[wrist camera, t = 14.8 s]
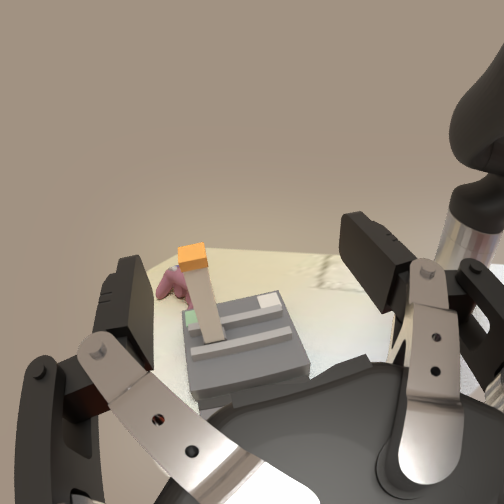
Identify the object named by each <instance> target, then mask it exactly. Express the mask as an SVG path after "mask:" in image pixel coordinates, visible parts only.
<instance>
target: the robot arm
mask: <svg viewBox="0 0 504 504" xmlns="http://www.w3.org/2000/svg"><path fill="white" fill-rule="evenodd" d="M449 140H450V145H451V149H452V152H453V154H454V155H455V157H456V159H457V160H458V161H459V162H460V163H462V164H464V165H465V166H467V167H470V168H472V169H476V170H479V171H483V172H487V173H488V174H487V176H485V177H484V178H483V179H481V180H479V181H476V182H473V183H469V184H464V185H460V186H458V187H456V188H455V189H454V190H453V192H452V195H451V199H450V204H449V208H448V212H447V216H446V220H445V225H444V228H443V232H442V235H441V239H440V242H439V246H438V249H437V253H436V256H435V259H434V261H433V260H429V259H425V258H420V259H417V258H416V257H415V256H414V255H413V254H412V253H411V252H410V251H409V250H408V249H407V248H406V247H405V246H404V245H403V244H402V243H401V242H400V241H398V239H397V238H396V237H395V236H394V235H392V233H391V232H390V231H389V230H387V229H386V228H385V227H384V226H383V225H381V224H379V223H377V222H375V221H371V220H370V219H369V218H368V217H367V216H366V215H365V214H364V213H363V212H361V211H359V212H353V213H348V214H344V215H343V216H342V218H341V228H340V239H339V253H340V256H341V259H342V261H343V262H344V263H345V265H346V266H347V267H348V269H349V270H350V271H351V273H352V274H353V275H354V277H355V278H356V279H357V281H358V282H359V283H360V285H361V286H362V287H363V289H364V290H365V292H366V293H367V294H368V296H369V297H370V298H371V300H372V301H373V303H374V304H375V305H376V307H377V308H378V310H379V311H380V312H381V314H384V313H387V312H390V311H393V312H394V313H395V315H394V317H393V322H392V330H391V338H390V345H389V351H388V357H387V361H386V363H385V362H370V361H369V359H368V357H367V355H366V354H364V355H361V356H358V357H356V358H353V359H350V360H347V361H344V362H341V363H338V364H336V365H334V366H332V367H331V368H329V369H327V370H326V371H324V372H323V373H321V374H319V375H318V376H316V377H314V378H313V379H311V380H309V381H307V382H305V383H296V384H275V385H263V386H259V387H255V388H250V389H246V390H241V391H237V392H232V393H230V395H231V399H232V403H229V404H227V405H225V406H224V407H222V408H220V409H219V410H217V411H216V412H215V413H213V414H212V415H211V416H210V417H209V418H208V419H207V420H204V419H203V418H202V417H201V416H199V415H198V414H197V413H196V412H195V411H194V410H192V409H191V408H190V407H189V406H188V405H187V404H185V403H184V402H183V401H182V400H181V399H180V398H179V397H178V396H176V395H175V394H174V393H173V392H172V391H171V390H170V389H169V388H168V387H167V386H166V385H164V384H163V383H162V382H161V381H160V380H159V379H158V378H157V377H156V376H155V375H154V374H153V373H152V372H150V371H151V370H154V354H153V320H154V297H153V291H152V287H151V284H150V282H149V279H148V277H147V274H146V271H145V269H144V266H143V263H142V261H141V258H140V256H139V255H133V256H129V257H124V258H120V259H119V261H118V266H117V271H116V273H113V274H110V275H109V276H108V277H107V278H106V280H105V281H104V283H103V285H102V289H101V293H100V295H101V296H100V297H99V302H98V303H99V304H98V306H97V311H96V316H95V321H94V326H93V331H92V334H91V335H89V336H88V337H86V338H85V339H84V340H83V341H82V342H81V344H80V345H79V348H78V351H77V355H75V356H73V357H71V358H69V359H66V360H64V361H62V362H60V363H57V362H56V361H55V360H54V359H53V358H52V357H50V356H47V355H43V356H40V357H38V358H36V359H34V360H33V361H32V362H31V363H30V365H29V366H28V367H27V369H26V372H25V376H24V381H23V387H22V392H21V399H20V406H19V413H18V421H17V431H16V445H15V466H14V469H15V470H14V487H15V504H106V503H105V499H104V492H103V484H102V475H101V463H100V450H99V429H98V415H99V414H102V413H104V412H106V411H109V410H112V412H113V413H114V414H115V416H116V417H117V418H118V419H119V421H120V422H121V423H122V424H123V425H124V427H125V428H126V429H127V430H128V431H129V433H130V434H131V435H132V436H133V437H134V438H135V439H136V440H137V442H138V443H139V444H140V445H141V446H142V447H143V448H144V449H145V451H146V452H147V453H148V454H149V455H150V456H151V457H152V458H153V459H154V460H155V461H156V462H157V463H158V464H159V465H160V466H161V467H162V468H163V469H164V470H165V471H166V472H167V473H168V474H169V475H170V476H171V477H170V479H169V480H168V482H167V483H166V485H165V487H164V488H163V490H162V492H161V493H160V495H159V496H158V498H157V499H156V501H155V503H154V504H504V285H503V284H502V283H501V282H500V281H499V280H498V278H497V277H496V276H495V275H494V274H493V273H492V272H491V271H490V270H489V267H490V265H491V262H492V259H493V257H494V255H495V252H496V249H497V247H498V244H499V241H500V238H501V236H502V233H503V230H504V44H503V45H502V47H501V49H500V50H499V52H498V54H497V55H496V57H495V58H494V60H493V62H492V63H491V64H490V66H489V67H488V69H487V70H486V72H485V73H484V74H483V75H482V76H481V77H480V78H479V80H478V81H477V82H476V83H475V84H474V85H473V86H472V87H471V88H470V89H469V90H468V91H467V92H466V94H465V95H464V96H463V97H462V98H461V100H460V101H459V103H458V104H457V106H456V108H455V110H454V113H453V115H452V119H451V123H450V129H449ZM476 305H477V306H478V307H479V308H480V309H481V311H482V312H483V313H484V314H485V316H486V317H487V318H488V320H489V323H490V330H489V332H488V334H486V332H485V331H484V329H483V328H482V327H481V325H480V324H479V323H478V321H477V320H476V319H475V317H474V316H473V315H472V312H473V310H474V308H475V306H476ZM460 354H461V355H462V357H463V358H464V360H465V361H466V363H467V365H468V366H469V368H470V369H471V371H472V373H473V374H474V376H475V378H476V379H477V381H478V383H479V384H480V386H481V388H482V389H483V391H484V393H485V399H486V401H485V402H484V403H483V402H480V401H478V400H475V399H473V398H471V397H469V396H466V395H464V394H462V393H460ZM147 371H148V372H147Z"/></svg>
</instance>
